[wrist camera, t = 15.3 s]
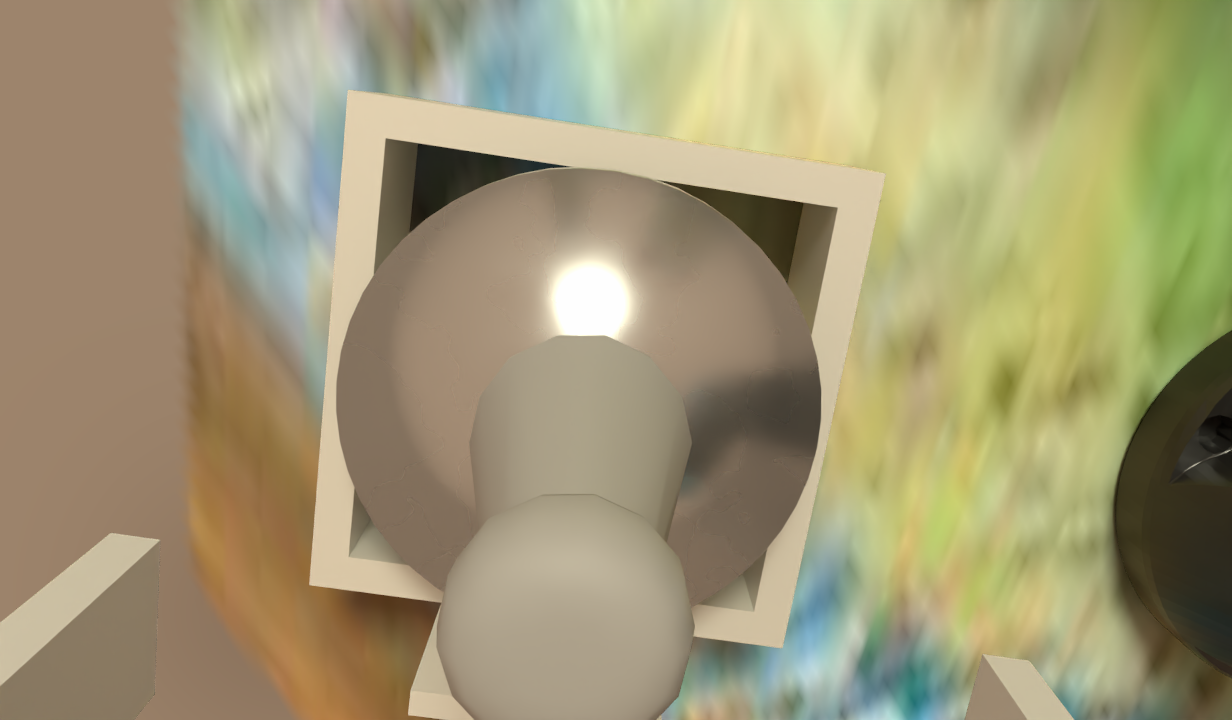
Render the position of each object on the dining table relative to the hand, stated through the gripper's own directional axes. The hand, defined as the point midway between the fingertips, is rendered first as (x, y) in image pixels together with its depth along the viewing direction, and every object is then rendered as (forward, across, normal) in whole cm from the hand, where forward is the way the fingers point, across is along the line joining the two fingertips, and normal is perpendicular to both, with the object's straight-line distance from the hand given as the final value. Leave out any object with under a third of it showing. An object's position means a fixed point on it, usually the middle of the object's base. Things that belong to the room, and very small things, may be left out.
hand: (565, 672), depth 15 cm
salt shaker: (+13, 0, 0) cm, 13 cm away
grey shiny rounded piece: (+19, 0, +1) cm, 19 cm away
